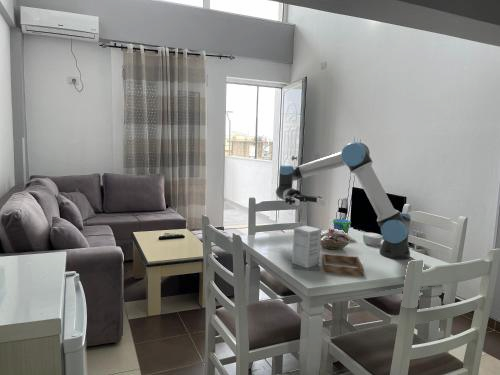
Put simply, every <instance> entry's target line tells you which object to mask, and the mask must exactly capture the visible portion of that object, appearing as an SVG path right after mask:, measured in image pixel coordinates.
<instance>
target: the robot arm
mask: <svg viewBox="0 0 500 375" xmlns="http://www.w3.org/2000/svg"><path fill="white" fill-rule="evenodd" d="M372 165H373V160H372V158H371V156H370V149H369V147H368V146H367V145H366V144H365V143H363V142H356V141H351V142H349V143H347V144H345V146H343V148H342V150H341V151H339V152H337V153H335V154H331V155H329V156H325V157H322V158H319V159H316V160H312V161H310V162H307V163H304V164H301V165H297V166H293V165H290V164H282V165H280V166H279V171H278V172H279V173H278V174H279V175H278V176H279V177H278V179H279V180H278V186H277V188H276V189H275V195H276V197H278V199H281V200H283V201H285V203H286V204H289V205H292V204H293V205H295V206H300V203H301V202H303V203H307V202H309V203H310V202H311V203H316V204H317V205H318V204H319V205H322V206H325V203H326V202H325V199H323V197H321V196H320V195H318V196H315V195H309V194H303V193H302V192H301V191H300V190H298V189H295V188H293V182H294V181H295V182H296V181H298V180H301V179H305V178H308V177H311V176H314V175H317V174H320V173H324V172H327V171H330V170H331V171H332V170H334V169H337V168H341V167H344V166H346V167H348V169H349V171H350V172H351V173H352V174H354V175H356V178H357V179H358V182H359V184H360V185H361V187H362V189H363V190H364V192H365V194H366V197H367V198H368V200H369V202H370V204H371V206H372V208H373V210H374V212H375V214H376V216H377V219H376V223H377V225H378V226H379V228H380V235H382V236H383V238H382V239H383V241H382V242H381V244H380V245H381V246H380V247H379V254H380V255H381V256H384V257H385V258H386V257H387V258H391V259H397V260H407V259H410V257H411V251H410V247H409V246H410V245H409V236H410V234H409V233H410V228H411V227H410V226H411V220H412V219H411V214H410V213H405V212H400V211H399V210H397V209H395V208H394V206H393V204H392V202H391V200H390V199H389V197H388V195H387V193H386V191H385V189H384V187H383V185H382V183H381V181H380V180H379V178H378V176H377V173H376V172H375V170H374V168H373V167H372Z"/></svg>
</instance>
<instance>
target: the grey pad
mask: <svg viewBox="0 0 500 375" xmlns="http://www.w3.org/2000/svg"><path fill="white" fill-rule="evenodd" d="M291 265H292V269H293V270H294V269H295V270H305V271H315V272H319V271H320V266H319V265H320V264H319V265H315V266H312V267H309V268H306V267H303V266H300V265H297V264H294V263H292V264H291Z"/></svg>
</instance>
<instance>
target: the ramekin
mask: <svg viewBox="0 0 500 375" xmlns="http://www.w3.org/2000/svg"><path fill="white" fill-rule="evenodd" d="M383 239H384V238H383V236H382V234H381V233H380V234H379V233H375V232H363V233H362V241H363V243H364V245H368V246H373V245H378V246H380V245H382V242H383V241H382V240H383Z"/></svg>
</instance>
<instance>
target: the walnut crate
mask: <svg viewBox="0 0 500 375" xmlns="http://www.w3.org/2000/svg"><path fill="white" fill-rule="evenodd" d="M327 262H328V263H338V264H346V265H337V264H336V265H335V264H328V263H327ZM321 264H322V269H323V273H325V274H333V275H335V274H336V275H344V276H345V275H346V276H355V277H356V276H357V277H364V272H365V268H364V265H363V264H362V262H361V260H360V257H358V256H351V255H340V254H330V253H329V254H328V253H321ZM347 264H348V265H355V266H347Z"/></svg>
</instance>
